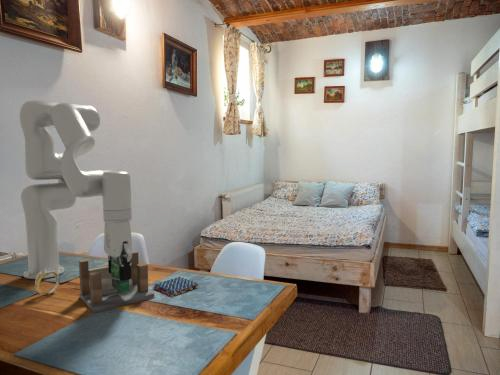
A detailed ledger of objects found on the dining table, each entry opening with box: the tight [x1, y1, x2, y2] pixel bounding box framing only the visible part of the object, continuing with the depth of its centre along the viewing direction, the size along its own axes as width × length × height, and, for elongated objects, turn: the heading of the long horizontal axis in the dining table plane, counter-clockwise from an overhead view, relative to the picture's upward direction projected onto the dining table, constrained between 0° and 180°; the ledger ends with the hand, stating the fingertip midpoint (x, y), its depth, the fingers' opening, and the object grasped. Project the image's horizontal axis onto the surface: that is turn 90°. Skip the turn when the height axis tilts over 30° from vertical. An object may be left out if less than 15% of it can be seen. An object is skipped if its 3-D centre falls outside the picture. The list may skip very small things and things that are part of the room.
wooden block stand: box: [78, 250, 155, 314], centre depth 111 cm, size 14×17×11 cm
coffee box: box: [111, 249, 130, 294], centre depth 108 cm, size 8×3×13 cm, turn 37°
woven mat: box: [152, 276, 199, 298], centre depth 119 cm, size 10×11×2 cm
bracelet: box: [34, 267, 61, 295], centre depth 114 cm, size 7×3×8 cm, turn 141°
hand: (119, 275), depth 108 cm, fingers closed on coffee box, 8 cm apart
